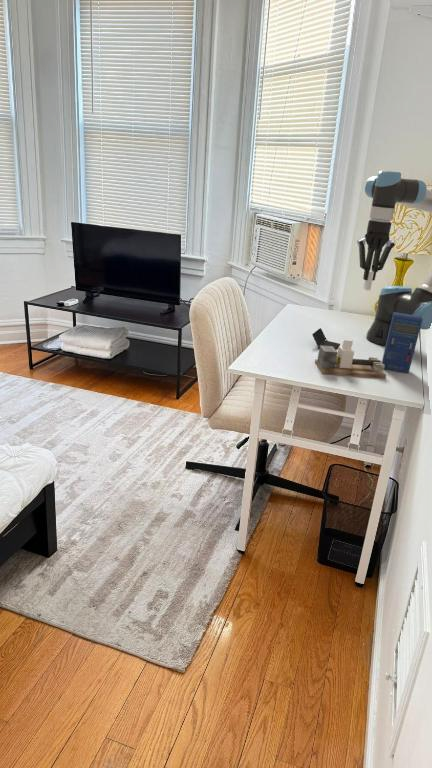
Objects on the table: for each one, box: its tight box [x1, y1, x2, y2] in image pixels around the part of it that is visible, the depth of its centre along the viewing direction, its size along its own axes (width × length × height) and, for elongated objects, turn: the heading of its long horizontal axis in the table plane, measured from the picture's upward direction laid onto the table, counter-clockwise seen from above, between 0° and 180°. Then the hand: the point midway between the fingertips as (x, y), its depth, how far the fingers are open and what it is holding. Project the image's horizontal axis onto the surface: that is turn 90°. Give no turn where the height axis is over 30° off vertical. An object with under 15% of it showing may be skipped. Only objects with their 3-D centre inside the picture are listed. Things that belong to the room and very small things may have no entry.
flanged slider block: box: [337, 339, 355, 369], centre depth 180 cm, size 4×5×9 cm
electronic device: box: [381, 312, 423, 374], centre depth 184 cm, size 10×5×20 cm, turn 75°
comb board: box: [314, 346, 387, 379], centre depth 181 cm, size 22×11×7 cm, turn 94°
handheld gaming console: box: [311, 327, 341, 351], centre depth 205 cm, size 12×7×10 cm
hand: (366, 289), depth 187 cm, fingers closed
